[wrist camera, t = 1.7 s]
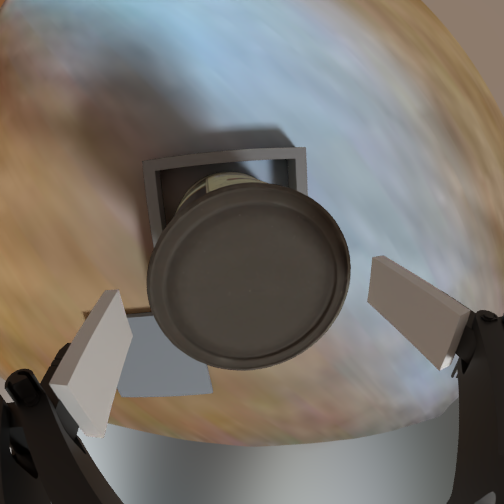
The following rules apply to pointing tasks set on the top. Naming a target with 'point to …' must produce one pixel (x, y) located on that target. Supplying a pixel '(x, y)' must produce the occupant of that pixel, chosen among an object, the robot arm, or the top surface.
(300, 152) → the collar
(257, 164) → the top surface
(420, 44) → the top surface
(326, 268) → the coffee can
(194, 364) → the slate mat
